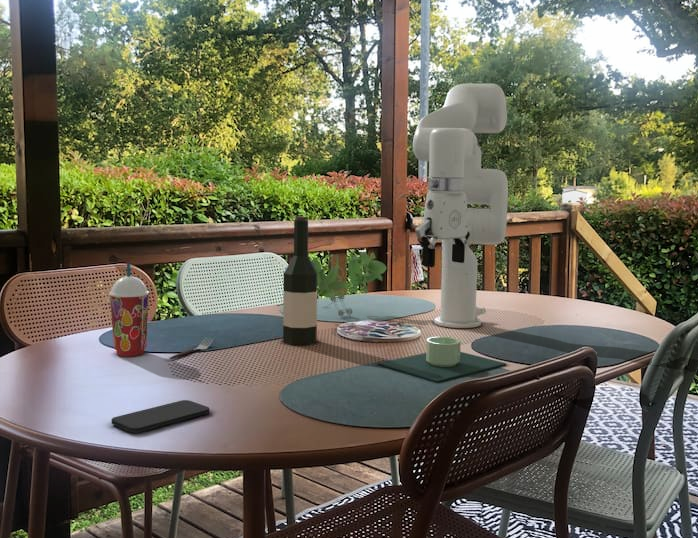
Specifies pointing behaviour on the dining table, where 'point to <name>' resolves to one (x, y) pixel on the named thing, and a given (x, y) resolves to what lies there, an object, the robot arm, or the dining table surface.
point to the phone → (159, 416)
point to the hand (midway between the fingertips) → (443, 264)
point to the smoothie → (129, 315)
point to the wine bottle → (300, 291)
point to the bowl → (443, 351)
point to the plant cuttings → (353, 268)
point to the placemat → (436, 373)
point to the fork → (200, 347)
